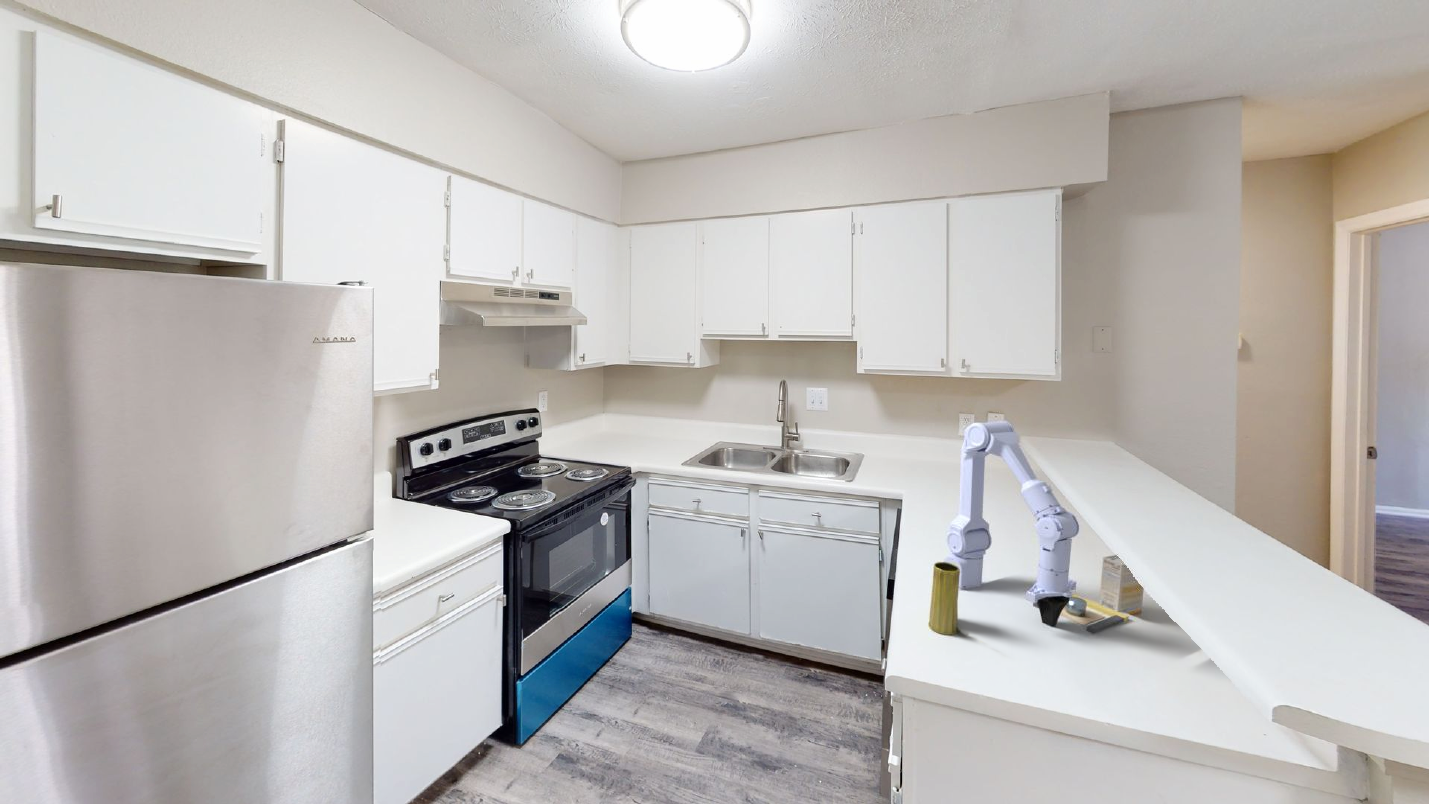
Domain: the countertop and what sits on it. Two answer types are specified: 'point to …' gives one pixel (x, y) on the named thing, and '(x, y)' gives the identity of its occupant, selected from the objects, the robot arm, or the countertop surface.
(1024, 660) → the countertop surface
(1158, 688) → the countertop surface
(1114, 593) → the supplement box
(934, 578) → the vase
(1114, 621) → the frame
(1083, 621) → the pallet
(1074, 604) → the steel cylinder puck
